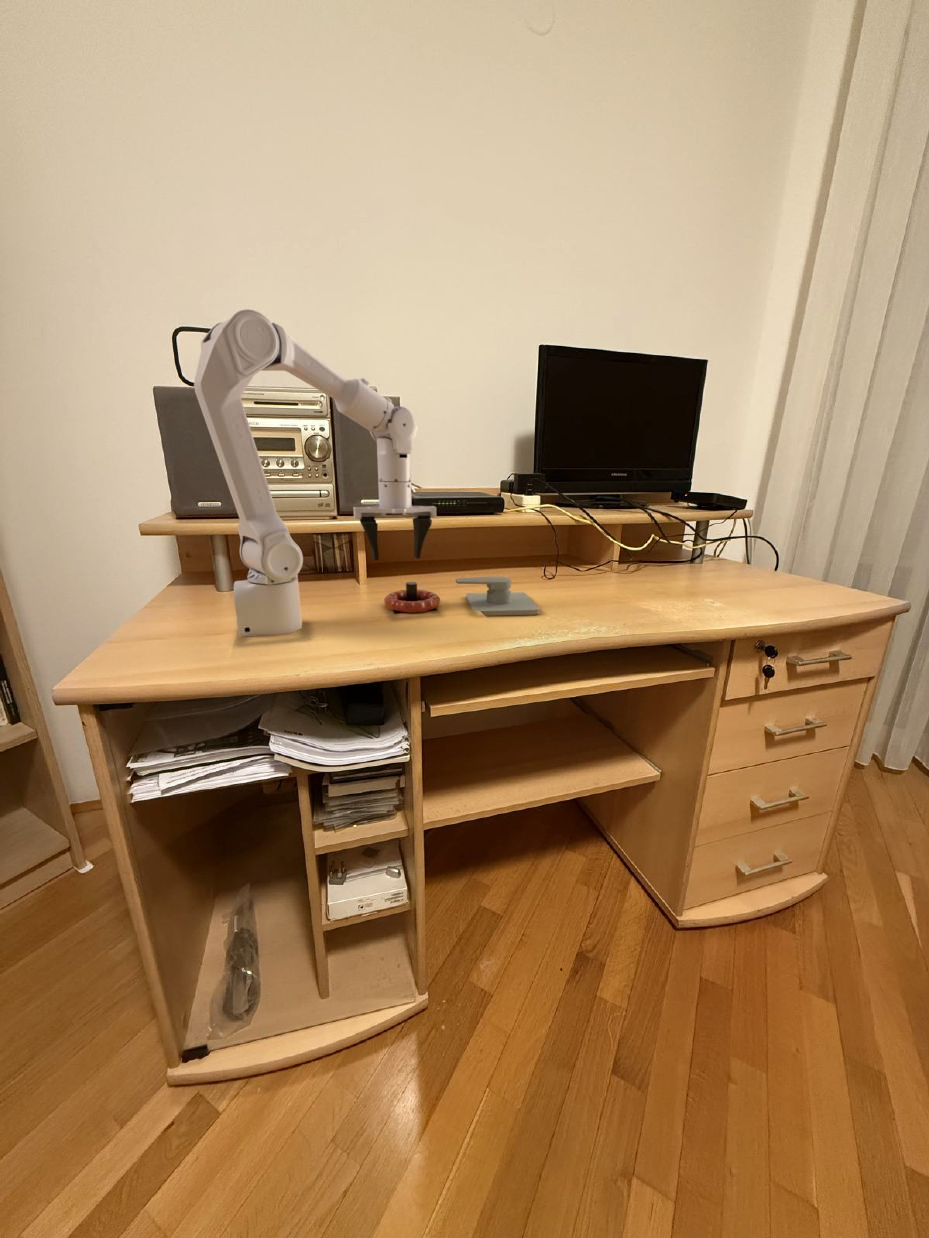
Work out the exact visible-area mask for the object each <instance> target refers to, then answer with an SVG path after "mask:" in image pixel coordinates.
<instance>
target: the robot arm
mask: <svg viewBox="0 0 929 1238" xmlns="http://www.w3.org/2000/svg"><path fill="white" fill-rule="evenodd" d="M261 371H262V372H267V371H268V372H271V371H273V372H276V371H277V372H278V371H279V372H280V371H282V372H287V373H289V374H290V375H292V376H294V377H296V378H297V379H299V380H301V381H302V382H304V383H306V384H308V385H309V386H311V387H312V388H314V389H316V390H318V391H320V392H321V393H323V394H325V395H327V397H330V398H331V399H333V401H334V403H335V407H336V409H337V412H338V413H340V414H342V415H344V416H345V417H347V418H348V419H350V420H351V421H353V422H355V423H357V424H358V425H359V426H361V427H362V428H364V429H365V430H367V431H369V434H370V436H371V437H372V438H373V440H374V441H375V442H376V457H377V483H378V484H377V485H378V486H377V487H378V505H376V506H375V505H374V506H353V507H352V508H353V519H354V520H359V522H360V525H361V527H362V529H363V530H364V533H365V536H366V537H367V540H368V542H369V546H370V550H371V553H372V559H373V560H374V561H379V559H380V554H379V544H378V528H379V527H378V526H379V525H378V523H377V520H376V519H412V525H413V526H412V527H413V557H415V559H421V555H422V550H423V546H424V544H425V543H424V542H425V540H426V537H427V534H428V532H429V530H430V528H431V526H432V523H433V519H436V518H437V507H436V506H434V505H413V504H412V451H413V443H414V440H415V438H416V437H417V434H418V431H419V430H418V429H419V425H418V424H416V420H415V418H414V415H413V414H412V413H411V411H410V410H409V409H408V408H406V407H405V406H401V405H400V406H395V405H394V403H392V402H393V399H391V398H389V397H388V396H386V397H384V396H383V395H381V394H380V393H379V392H377V391H375V390H374V389H373V388H372V387H370V386H369V385H370V382H369V381H368V380H367V379H365V378H364V377H363V378H358V377H350V378H347V379H345V378H344V377H343V376H341V374H339V373H338V372H336V371H335V370H334V369H332V368H331V367H330V366H329V365H328V364H326V363H325V362H324V361H323V360H321V359H320V358H318V357H317V356H316V355H315V354H313V353H312V352H311V351H309V350H308V349H307V348H306V347H304V346H303V345H302V344H301V343H299V342H298V341H297V340H295V339H294V338H293V337H292V336H291V335H290V333H288V332H287V331H286V329H285V328H284V327H283V326H281V325H280V324H277V323H275V322H271V321H270V319H269V318H267V317H266V316H265V315H264V314H263V313H261V312H259V311H257V310H254V309H247V308H245V309H241V310H238V311H237V312H235V313H234V314H232V316H230V317H229V318H227V319H225V320H224V321H222V322H218V323H216V324H215V325H213V326H212V327H211V328H210V330H209V331H208V332H207V334H205V336H204V337H203V338H202V340H201V341H200V355H199V359H198V363H197V368H196V371H195V377H194V381H193V388H194V393H195V396H196V399H197V401H198V404H199V407H200V410H201V413H202V416H203V418H204V422H205V424H206V427H207V430H208V432H209V433H208V434H209V436H210V439H211V441H212V444H213V447H214V450H215V452H216V455H217V459H218V461H219V464H220V467H221V469H222V470H221V471H222V473H223V476H224V478H225V481H226V484H227V487H228V490H229V492H230V495H231V499H232V501H233V504H234V507H235V510H236V513H237V516H238V518H239V521H238V527H237V532H238V535H239V538H240V544H239V556H240V559H241V561H242V563H243V565H244V566H246V567H247V568H248V569H249V570H248V573H247V579H245V580H236V581H234V582H233V600H234V601H233V602H234V608H235V617H236V619H235V621H236V627H237V629H238V630H237V631H238V637H239V638H245V637H246V638H247V637H257V636H282V635H288V634H292V633H295V632H297V631H299V630H300V629H301V628H302V627H303V618H302V607H301V596H300V586H299V577H298V576H299V573H300V571H301V570H302V567H303V563H304V555H303V552H302V550H301V548H300V546H299V545H298V544H297V543H296V542H295V541H294V540H293V538H292V537H291V534H290V531H289V528H288V526H287V525H286V523H285V522H284V521H283V519H282V518H281V517H280V516H279V514H278V513H277V509H276V506H275V502H274V499H273V496H272V493H271V490H270V487H269V484H268V480H267V477H266V475H265V471H264V468H263V465H262V461H261V458H260V456H259V452H258V448H257V445H256V443H255V439H254V436H253V433H252V429H251V426H250V423H249V419H248V417H247V414H246V411H245V407H244V404H243V401H242V395H243V394H244V392H245V390H246V389H247V388H248V386H249V385H250V383H251V382H252V380H253V378H254V376H256V375H257V374H258V373H260V372H261ZM246 628H249V630H246Z"/></svg>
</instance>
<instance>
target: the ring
mask: <svg viewBox="0 0 929 1238" xmlns="http://www.w3.org/2000/svg"><path fill="white" fill-rule="evenodd" d="M405 600H406V589H401V590H397V591H392V592H389V593H388V594H387V595H386V596H385V597H384V599H383V602H384V605H385V606H386V608H387V609H389V610H391V611H392V610H394V611H398V612H408V613H407V614H414V613H415V614H416V613H426V612H425V611H427V612H430V611H429V610H432V609H435V608H437V607H438V606H439V605H440V603H441V598H440V596H438V594H437V593H435V592H432V591H430V590H425V589H417V600H421V601H405Z"/></svg>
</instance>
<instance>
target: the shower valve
mask: <svg viewBox="0 0 929 1238" xmlns="http://www.w3.org/2000/svg"><path fill="white" fill-rule="evenodd" d="M455 583H456V584H458V585H486V588H487V591H486V592H468V593H466V594H465V601H467V602H468V603H469V604H470V606H471V608H472V610H473V611H475V612H480V613H481V614H482V615H484V616H485V617H491V616H492V617H496V616H532V615H533V616H535V615H539V614H540V607H539V606H538V605H537V604H536V602H534V601H533V600H532V598H531V597H530V596H529V595H528V594H527V593H526V592H523V591H522V592H521V591H520V592H519V591H518V592H517V591H515V592H514V591H513V592H511V590H510V589H511V588H512V579H511V578H510V577H506V576H477V577H456V578H455Z"/></svg>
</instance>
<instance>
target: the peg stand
mask: <svg viewBox="0 0 929 1238" xmlns="http://www.w3.org/2000/svg"><path fill="white" fill-rule="evenodd" d="M405 590H406V600H405V601H421V600H417V590H418V582H415V581H408V582H406V583H405ZM391 611H392V613H393V614H394V615H400V614H409V613H408V612H398V611H394V610H391ZM437 611H439V609H438V608H437V607H436V608H435V609H432V610H429V611H425V612H424V613H426V612H437Z"/></svg>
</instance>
